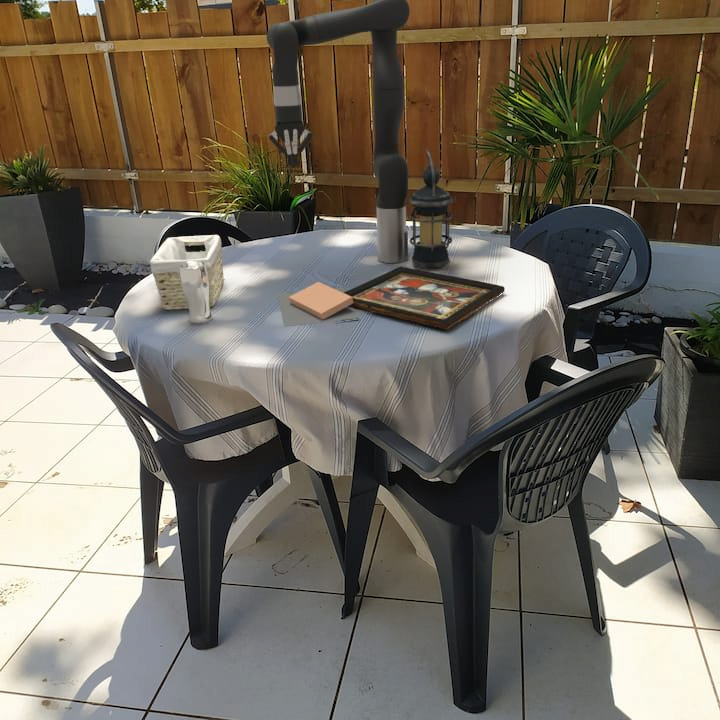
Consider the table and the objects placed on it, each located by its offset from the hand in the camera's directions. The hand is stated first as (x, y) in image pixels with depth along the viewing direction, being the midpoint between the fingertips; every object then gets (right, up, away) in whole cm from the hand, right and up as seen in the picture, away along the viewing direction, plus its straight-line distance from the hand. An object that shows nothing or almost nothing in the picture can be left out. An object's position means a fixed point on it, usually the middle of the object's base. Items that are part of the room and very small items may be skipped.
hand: (293, 167), depth 189 cm
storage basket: (-28, -38, 0) cm, 47 cm away
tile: (+4, -37, -9) cm, 39 cm away
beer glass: (-23, -45, -17) cm, 53 cm away
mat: (+7, -42, -13) cm, 44 cm away
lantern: (+41, -26, +16) cm, 52 cm away
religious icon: (+36, -39, -11) cm, 54 cm away
